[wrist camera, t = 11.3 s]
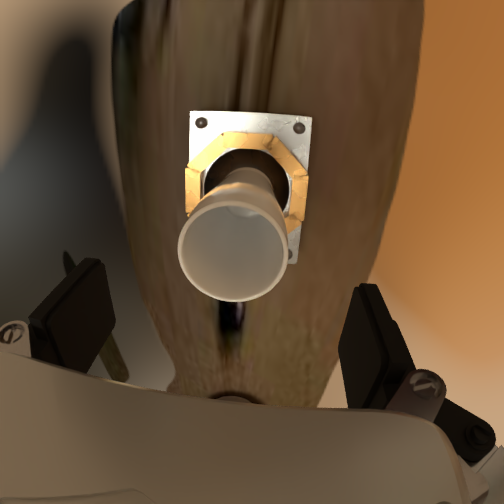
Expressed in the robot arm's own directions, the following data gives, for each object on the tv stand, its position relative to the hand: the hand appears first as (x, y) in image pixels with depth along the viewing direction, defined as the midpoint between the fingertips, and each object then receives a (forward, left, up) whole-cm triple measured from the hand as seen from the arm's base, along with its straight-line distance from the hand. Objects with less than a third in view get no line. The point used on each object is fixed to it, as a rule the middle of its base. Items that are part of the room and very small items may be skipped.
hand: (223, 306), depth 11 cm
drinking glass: (+2, -1, -23) cm, 23 cm away
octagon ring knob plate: (+2, -1, -27) cm, 27 cm away
